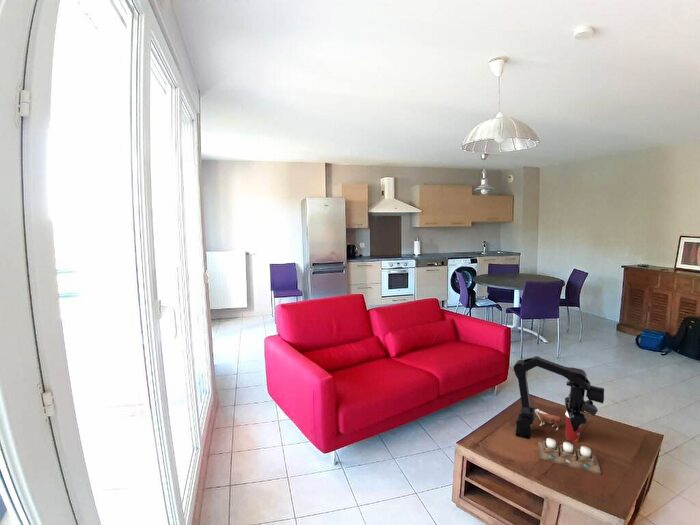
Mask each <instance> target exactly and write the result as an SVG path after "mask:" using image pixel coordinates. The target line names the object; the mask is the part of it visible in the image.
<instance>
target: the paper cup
mask: <svg viewBox="0 0 700 525" xmlns="http://www.w3.org/2000/svg"><path fill="white" fill-rule="evenodd" d="M564 414H565V439H566V440H568V442H570V443H577V442H579V440H580V435H581V428H582V427H581V426H582V424H580V426H579V428H578V429H577V431H576V432H575V431H573V428H572V424H571V421H570V418H569V415H568V411H567V410H566V412H565V413H564Z"/></svg>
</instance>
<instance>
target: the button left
mask: <svg viewBox="0 0 700 525" xmlns="http://www.w3.org/2000/svg"><path fill="white" fill-rule="evenodd" d="M545 441H546V447H547V448H550V449H554V450H555V449H556V444H557V441H556V440H555V439H554V438H551V437H547V438H546V440H545Z"/></svg>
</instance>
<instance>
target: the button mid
mask: <svg viewBox="0 0 700 525" xmlns="http://www.w3.org/2000/svg"><path fill="white" fill-rule="evenodd" d="M562 445H563V452H566V453H570V454H573V448H574V445H573V444H572V442H570V441H563V443H562Z"/></svg>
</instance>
